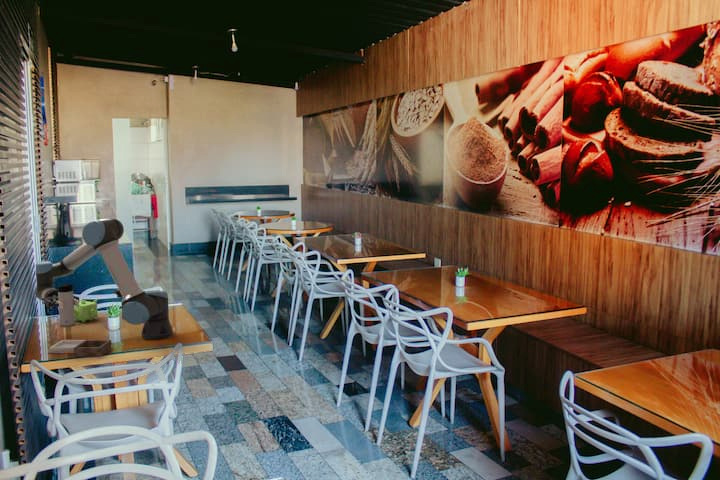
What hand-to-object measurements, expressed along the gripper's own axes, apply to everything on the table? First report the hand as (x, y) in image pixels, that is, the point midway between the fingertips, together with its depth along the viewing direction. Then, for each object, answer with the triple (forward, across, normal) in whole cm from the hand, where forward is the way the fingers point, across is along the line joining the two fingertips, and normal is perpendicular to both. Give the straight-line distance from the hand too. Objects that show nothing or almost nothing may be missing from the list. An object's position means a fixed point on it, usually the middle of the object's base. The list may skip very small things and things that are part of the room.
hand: (70, 304), depth 268 cm
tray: (-5, 0, -22) cm, 23 cm away
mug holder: (+8, -6, -22) cm, 24 cm away
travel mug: (-5, 0, -11) cm, 12 cm away
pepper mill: (-36, -45, -22) cm, 62 cm away
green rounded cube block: (-52, -25, -23) cm, 62 cm away
